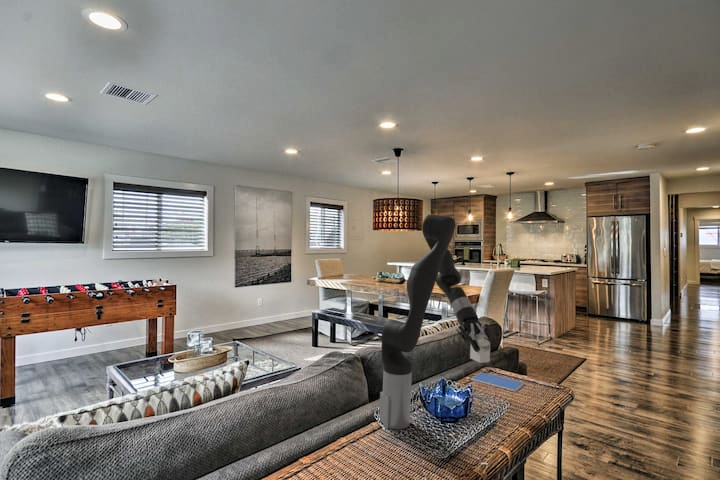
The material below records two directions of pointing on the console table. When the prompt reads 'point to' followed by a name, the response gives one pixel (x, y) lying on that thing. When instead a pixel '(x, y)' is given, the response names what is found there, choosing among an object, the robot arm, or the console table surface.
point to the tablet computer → (498, 381)
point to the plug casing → (481, 350)
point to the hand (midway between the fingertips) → (483, 350)
